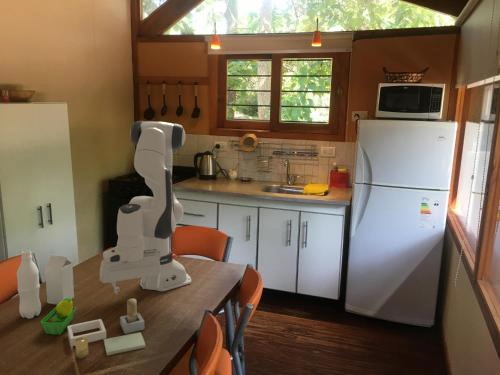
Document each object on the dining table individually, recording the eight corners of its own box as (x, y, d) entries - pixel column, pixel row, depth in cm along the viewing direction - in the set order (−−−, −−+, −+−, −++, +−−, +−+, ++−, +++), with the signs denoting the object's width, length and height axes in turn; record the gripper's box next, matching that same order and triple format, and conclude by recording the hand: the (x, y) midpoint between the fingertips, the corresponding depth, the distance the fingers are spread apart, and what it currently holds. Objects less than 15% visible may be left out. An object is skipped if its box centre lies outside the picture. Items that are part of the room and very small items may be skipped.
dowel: (135, 323, 151) (135, 297, 149) (138, 327, 148) (137, 301, 146) (126, 325, 149) (126, 299, 147) (128, 330, 147) (128, 303, 145)
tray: (101, 328, 149) (101, 318, 148) (106, 340, 141) (106, 331, 141) (68, 335, 144) (67, 325, 143) (71, 349, 136) (70, 339, 135)
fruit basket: (56, 319, 154) (54, 290, 152) (80, 320, 154) (79, 291, 152) (40, 336, 143) (38, 305, 141) (66, 337, 143) (64, 306, 141)
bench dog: (87, 353, 134) (86, 336, 133) (89, 359, 131) (88, 341, 130) (75, 356, 132) (74, 338, 131) (77, 362, 129) (76, 344, 128)
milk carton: (63, 305, 164) (60, 259, 160) (47, 303, 166) (44, 257, 162) (74, 297, 171) (72, 253, 167) (58, 295, 172) (56, 251, 169)
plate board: (140, 338, 144) (140, 332, 144) (145, 351, 137) (145, 344, 137) (104, 346, 139) (103, 339, 139) (107, 359, 132) (106, 352, 131)
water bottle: (25, 310, 159) (20, 248, 154) (44, 310, 160) (40, 248, 155) (16, 320, 152) (10, 254, 147) (37, 320, 153) (32, 254, 148)
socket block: (139, 322, 153) (139, 312, 153) (144, 331, 148) (144, 321, 147) (120, 327, 150) (120, 316, 149) (124, 336, 144) (124, 325, 144)
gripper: (157, 245, 151) (157, 282, 153) (98, 253, 141) (99, 291, 143) (163, 251, 146) (163, 288, 148) (101, 259, 136) (102, 299, 138)
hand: (131, 290), depth 146 cm, fingers open, 8 cm apart
